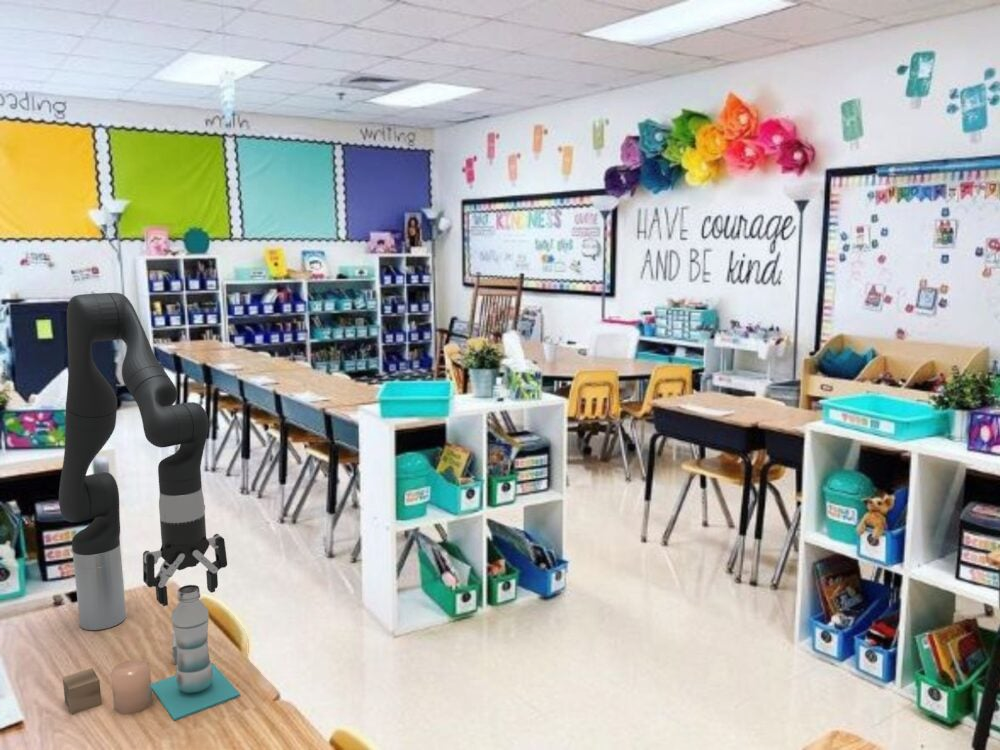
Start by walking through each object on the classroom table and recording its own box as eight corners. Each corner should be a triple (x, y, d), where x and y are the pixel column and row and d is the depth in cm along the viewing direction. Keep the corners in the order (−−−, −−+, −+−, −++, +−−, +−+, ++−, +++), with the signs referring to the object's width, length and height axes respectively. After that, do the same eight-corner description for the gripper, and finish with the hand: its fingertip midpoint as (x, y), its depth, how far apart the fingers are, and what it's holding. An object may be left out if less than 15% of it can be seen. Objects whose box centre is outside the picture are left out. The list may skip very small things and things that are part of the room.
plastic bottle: (201, 700, 147) (195, 599, 143) (168, 695, 148) (161, 594, 144) (221, 681, 153) (215, 583, 149) (189, 676, 154) (182, 579, 151)
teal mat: (149, 686, 152) (149, 684, 152) (212, 664, 160) (212, 662, 159) (174, 720, 141) (174, 718, 141) (240, 696, 149) (240, 694, 149)
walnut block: (65, 702, 147) (62, 677, 146) (94, 692, 150) (92, 668, 149) (71, 715, 143) (68, 689, 142) (101, 704, 146) (99, 679, 145)
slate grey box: (174, 650, 165) (173, 632, 164) (195, 647, 166) (194, 629, 166) (174, 665, 160) (172, 646, 159) (195, 661, 161) (194, 643, 160)
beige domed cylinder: (109, 702, 147) (106, 667, 146) (146, 689, 151) (143, 655, 150) (119, 718, 142) (116, 682, 141) (157, 705, 146) (154, 670, 145)
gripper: (214, 499, 151) (218, 580, 154) (134, 516, 142) (141, 601, 145) (229, 510, 146) (234, 593, 149) (147, 529, 137) (154, 617, 140)
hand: (188, 597), depth 147 cm, fingers open, 8 cm apart
